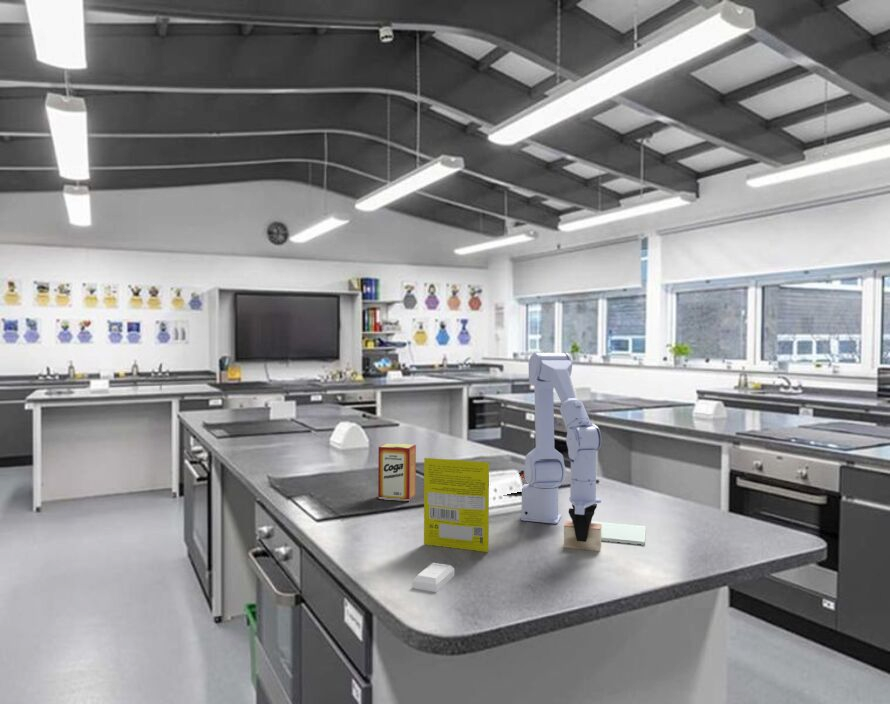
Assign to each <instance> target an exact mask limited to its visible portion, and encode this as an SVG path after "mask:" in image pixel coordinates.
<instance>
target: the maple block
mask: <svg viewBox="0 0 890 704" xmlns="http://www.w3.org/2000/svg"><path fill="white" fill-rule="evenodd" d="M601 527H602V524H596V523H590V525H589V531H588V537H587V540H586V542H582V541H577V539H576V535H575V530H574V525H573V522H572V520H566V521H565V522H564V525H563V548H566V547H567V548H568V549H575V548H577V549H578V550H584V549H586V551H593V550H596V552H600V551H601V549H600V548H601V547H602V541H601ZM567 548H566V549H567ZM577 549H576V550H577Z"/></svg>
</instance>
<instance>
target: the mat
mask: <svg viewBox="0 0 890 704" xmlns="http://www.w3.org/2000/svg"><path fill="white" fill-rule="evenodd" d="M591 523H596V524H602V527H601V542H608V541H609V542H610V543H617V542H620V544H627V543H631V544H630V545H637V544H641V545H640V546H645V545H646V530H647V526H646V525H639V524H638V525H636V524H627V523H626V524H625V523H616V522H604V521H595V520H591Z"/></svg>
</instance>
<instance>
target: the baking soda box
mask: <svg viewBox="0 0 890 704" xmlns="http://www.w3.org/2000/svg"><path fill="white" fill-rule="evenodd" d="M416 450H417V444H409V443H384V444H381V445H380V446H378V451H377V452H378V462H377V463H378V464H377V466H378V470H377V471H378V474H377V475H378V477H377V478H378V481H377V483H378V484H377V485H378V486H377V488H378V493H377V496H378V497H387V498H400V499H410V498H411V497H412V496H414V495H415V494H416V492H417V491H416V485H417V484H416V482H417V481H416V479H417V478H416V477H417V476H416V475H417V474H416V473H417V471H416V468H417V466H416V465H417V464H416V463H417V462H416V461H417V454H416V452H417V451H416ZM378 497H377V498H378Z"/></svg>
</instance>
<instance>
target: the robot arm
mask: <svg viewBox="0 0 890 704" xmlns="http://www.w3.org/2000/svg"><path fill="white" fill-rule="evenodd" d="M572 370H573V360H572V357H571V356H570V354H569V353H568V352H557V353H556V352H553V353H552V352H547V353H546V352H544V353H543V352H541V353H539V352H533V353H532V354H531V356H530V358H529V360H528V383H529V384H530V385H532V386H533V389H534V424H535V425H534V426H535V427H534V431H535V432H534V433H535V438H534V439H535V448H533V449H532V450H530V451H529V452H528V453H527V454H526V455H525V460H524V461H525V462H524V466H523V471H524V477H525V480H526V482H527V483H528V484H524V485H523V488H522V491H521V516H520V517H521V518H520V521H525V522H535V523H543V524H544V523H545V524H556V525H557V524H558V523H559V522H560V520H561V518H562V514H561V513H559V487H561V486H562V484H563V482H564V481H565V479H566V475H567V473H566V472H567V470H566V469H567V468H566V466H565V459H564V455H563V454H562V453H561V452H559V451H558V450H557V449H556V448H555V410H554V409H555V408H554V406H555V405H554V390H555V392H556V394H557V397H558V398H559V400H560V402H561V406H560V408H559V412H560V415H561V418H562V420H563V423H564V426H565V428H566V432H567V433H566V437H565V440H566V442H565V443H566V446H567V453H568V458H569V459H570V490H569V491H570V492H569V493H570V494H569V495H570V496H569V502H570V503H571V506H572V508H571V507H570V508H568V515H569V517H570V519H571V521H572V522H573V525H574V530H575V535H576V539H577V541H582V542H586V540H587V537H588V531H589V525H590V523H591V521H593V517H594V515H595V514H596V513H595V511H596V509H597V507H598V504H601V503H602V498H600V497H597V451H599V450H601V446H602V433H601V431H600V428H599V426H597V425H596V424H595V422H593V421H591V419H590V417H589V415H588V412H587V410H586V407H585V406H584V403H583V401H582V400H579V399H577V397H576V396H577V395H576V393H575V390H574V386H573V383H572V380H571V375H572Z"/></svg>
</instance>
